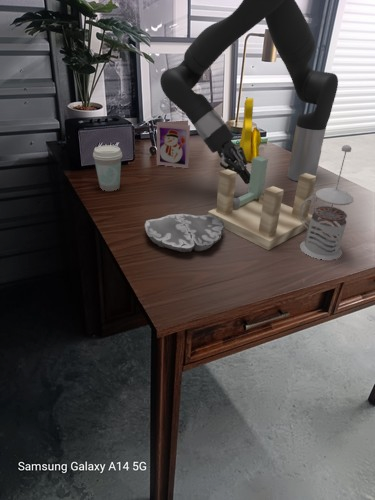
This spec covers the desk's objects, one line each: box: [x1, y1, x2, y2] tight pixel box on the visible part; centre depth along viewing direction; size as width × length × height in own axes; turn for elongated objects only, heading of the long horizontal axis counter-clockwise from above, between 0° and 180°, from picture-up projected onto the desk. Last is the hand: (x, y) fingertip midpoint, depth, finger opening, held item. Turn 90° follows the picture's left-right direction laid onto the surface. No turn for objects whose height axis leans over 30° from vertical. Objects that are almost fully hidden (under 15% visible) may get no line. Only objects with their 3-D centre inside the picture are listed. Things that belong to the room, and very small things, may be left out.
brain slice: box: [143, 213, 225, 253], centre depth 93 cm, size 20×17×3 cm
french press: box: [299, 144, 354, 261], centre depth 86 cm, size 10×12×25 cm
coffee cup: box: [92, 145, 123, 192], centre depth 116 cm, size 8×8×12 cm
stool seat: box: [207, 169, 317, 251], centre depth 100 cm, size 20×20×14 cm
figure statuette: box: [239, 97, 262, 163], centre depth 141 cm, size 18×8×22 cm, turn 174°
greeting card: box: [156, 119, 191, 169], centre depth 135 cm, size 11×7×15 cm, turn 77°
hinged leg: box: [233, 155, 269, 209], centre depth 104 cm, size 13×3×11 cm, turn 138°
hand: (249, 181), depth 110 cm, fingers closed
